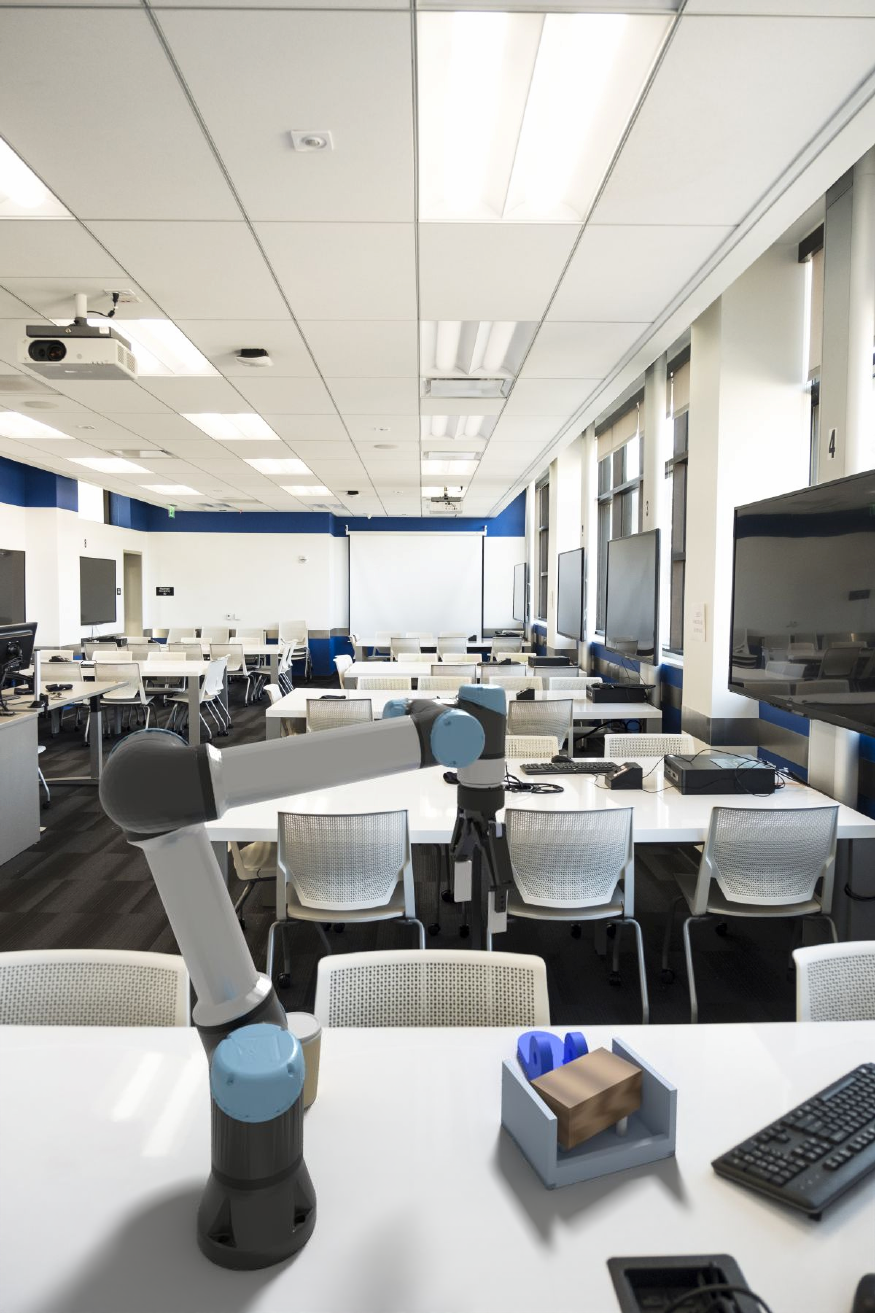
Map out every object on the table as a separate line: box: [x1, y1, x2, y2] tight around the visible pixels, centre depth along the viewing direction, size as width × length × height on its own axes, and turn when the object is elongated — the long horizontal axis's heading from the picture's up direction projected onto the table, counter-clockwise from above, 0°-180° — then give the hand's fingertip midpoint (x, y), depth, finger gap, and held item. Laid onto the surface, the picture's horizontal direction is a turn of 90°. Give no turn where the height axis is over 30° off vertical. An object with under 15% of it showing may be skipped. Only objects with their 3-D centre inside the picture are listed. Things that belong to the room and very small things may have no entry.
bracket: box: [516, 1030, 590, 1082], centre depth 136 cm, size 18×8×9 cm, turn 9°
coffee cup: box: [285, 1011, 323, 1110], centre depth 127 cm, size 9×9×12 cm
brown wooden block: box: [529, 1046, 642, 1150], centre depth 117 cm, size 16×8×6 cm, turn 127°
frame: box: [500, 1036, 678, 1191], centre depth 117 cm, size 21×15×10 cm
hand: (478, 915), depth 123 cm, fingers open, 13 cm apart
